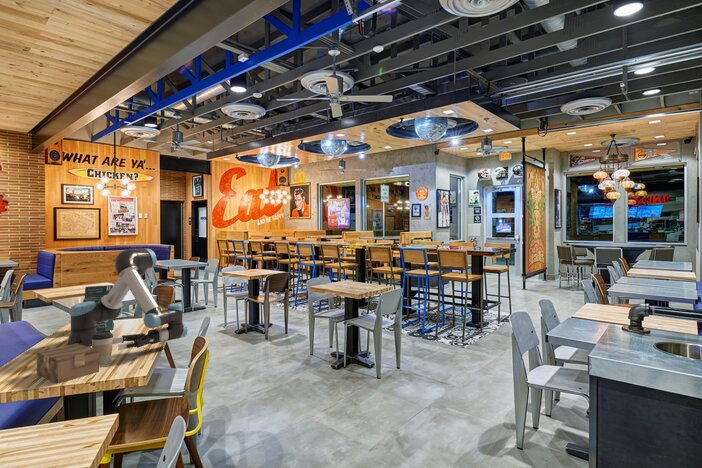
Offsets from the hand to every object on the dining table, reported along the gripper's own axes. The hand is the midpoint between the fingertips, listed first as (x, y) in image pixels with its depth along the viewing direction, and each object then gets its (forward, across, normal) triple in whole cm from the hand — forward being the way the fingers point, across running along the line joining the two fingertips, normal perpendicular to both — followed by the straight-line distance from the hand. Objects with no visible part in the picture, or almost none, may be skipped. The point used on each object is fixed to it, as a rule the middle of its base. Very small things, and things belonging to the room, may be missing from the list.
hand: (113, 344), depth 187 cm
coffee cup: (+4, +1, -8) cm, 9 cm away
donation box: (-16, +73, -8) cm, 75 cm away
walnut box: (+19, -3, -8) cm, 21 cm away
